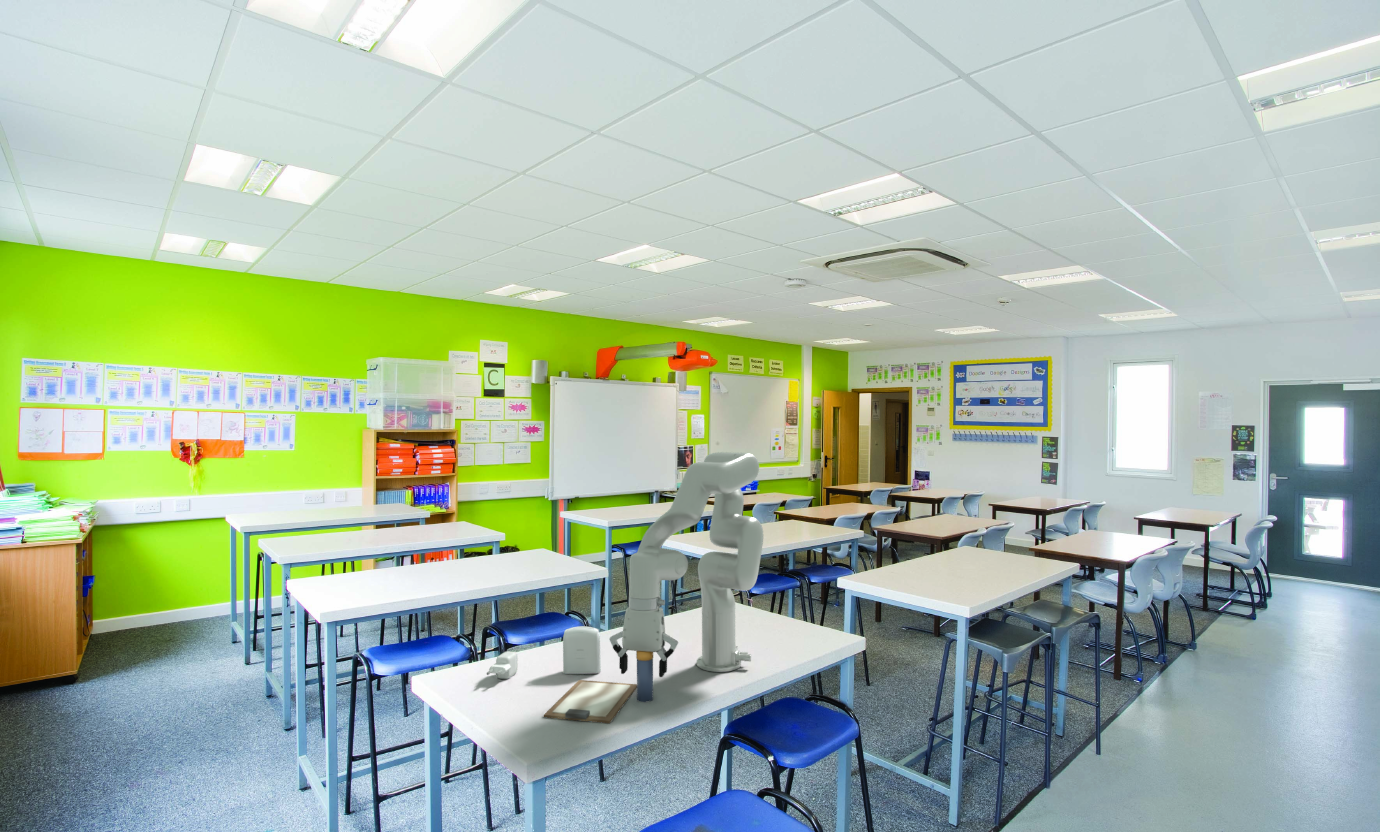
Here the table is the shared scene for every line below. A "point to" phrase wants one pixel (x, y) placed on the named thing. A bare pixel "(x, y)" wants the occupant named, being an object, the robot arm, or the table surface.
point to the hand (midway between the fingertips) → (643, 673)
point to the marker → (644, 676)
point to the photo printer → (581, 650)
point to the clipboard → (592, 701)
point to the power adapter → (505, 665)
